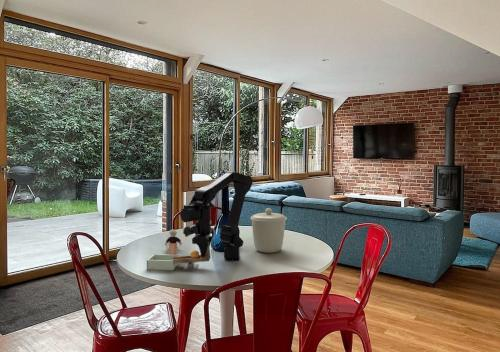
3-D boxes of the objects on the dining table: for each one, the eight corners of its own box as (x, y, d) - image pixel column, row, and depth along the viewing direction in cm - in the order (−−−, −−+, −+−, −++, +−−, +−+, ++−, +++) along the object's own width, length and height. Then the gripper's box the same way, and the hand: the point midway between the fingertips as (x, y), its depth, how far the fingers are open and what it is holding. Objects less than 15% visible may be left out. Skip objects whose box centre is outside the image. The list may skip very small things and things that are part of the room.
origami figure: (182, 251, 183) (182, 241, 182) (164, 252, 180) (164, 242, 180) (180, 245, 194) (180, 236, 194) (163, 246, 192) (163, 236, 192)
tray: (178, 263, 162) (178, 254, 162) (172, 270, 154) (172, 260, 153) (153, 263, 163) (153, 254, 163) (146, 269, 154) (146, 260, 154)
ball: (201, 252, 159) (194, 247, 159) (199, 255, 155) (192, 249, 155) (196, 259, 159) (189, 254, 159) (194, 261, 155) (187, 256, 155)
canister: (243, 252, 181) (243, 209, 180) (260, 244, 197) (260, 204, 196) (277, 257, 173) (278, 212, 171) (292, 248, 189) (292, 207, 187)
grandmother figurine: (165, 257, 171) (165, 230, 171) (164, 255, 175) (164, 228, 174) (182, 256, 174) (182, 229, 173) (181, 254, 177) (181, 228, 176)
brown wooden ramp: (210, 258, 159) (209, 244, 159) (208, 262, 154) (206, 247, 154) (174, 261, 161) (172, 247, 160) (170, 265, 155) (169, 250, 155)
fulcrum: (198, 265, 161) (198, 260, 160) (195, 270, 154) (195, 264, 154) (186, 264, 161) (186, 259, 161) (183, 269, 155) (183, 264, 154)
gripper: (190, 214, 166) (190, 249, 167) (179, 223, 147) (179, 261, 148) (214, 215, 165) (215, 249, 166) (207, 223, 146) (207, 262, 147)
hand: (204, 255), depth 157 cm, fingers closed on brown wooden ramp, 4 cm apart
